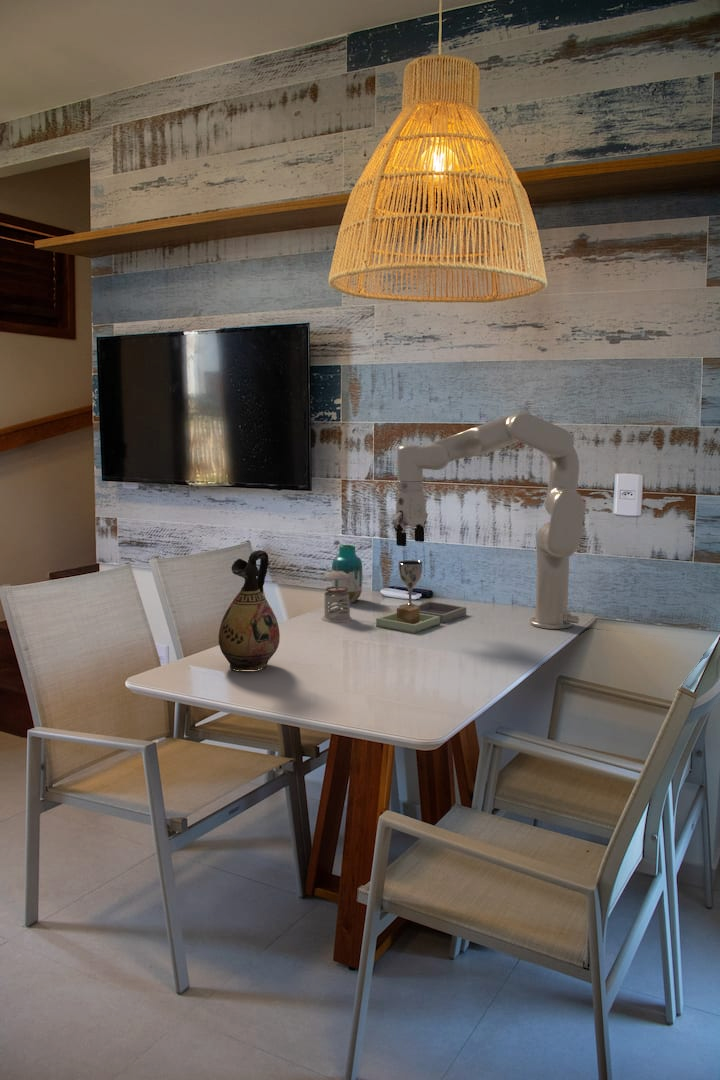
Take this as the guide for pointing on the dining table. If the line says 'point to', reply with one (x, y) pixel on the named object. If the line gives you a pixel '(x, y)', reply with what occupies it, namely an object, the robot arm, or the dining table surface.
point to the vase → (348, 570)
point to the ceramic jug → (249, 619)
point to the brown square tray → (442, 610)
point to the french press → (337, 598)
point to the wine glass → (410, 576)
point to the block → (408, 614)
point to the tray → (393, 624)
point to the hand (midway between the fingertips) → (410, 543)
